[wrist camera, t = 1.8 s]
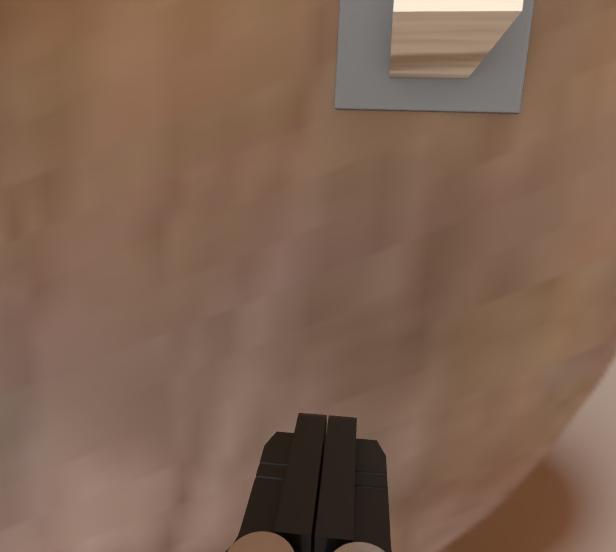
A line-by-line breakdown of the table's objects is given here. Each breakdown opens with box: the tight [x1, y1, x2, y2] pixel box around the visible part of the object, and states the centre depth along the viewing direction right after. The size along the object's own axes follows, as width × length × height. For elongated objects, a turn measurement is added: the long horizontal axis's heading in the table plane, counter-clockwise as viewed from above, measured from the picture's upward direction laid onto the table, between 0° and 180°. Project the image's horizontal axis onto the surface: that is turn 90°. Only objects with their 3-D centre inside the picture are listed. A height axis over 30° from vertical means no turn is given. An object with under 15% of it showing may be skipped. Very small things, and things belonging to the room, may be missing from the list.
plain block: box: [389, 0, 523, 78], centre depth 24 cm, size 5×5×12 cm
